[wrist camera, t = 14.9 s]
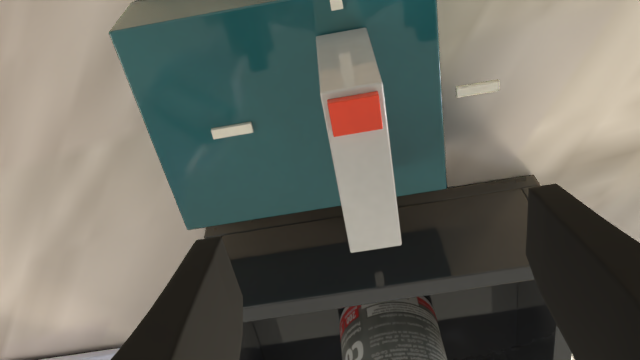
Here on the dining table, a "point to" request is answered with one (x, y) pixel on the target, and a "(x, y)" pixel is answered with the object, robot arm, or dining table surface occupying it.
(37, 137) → the dining table surface
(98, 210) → the dining table surface
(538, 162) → the dining table surface
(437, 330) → the pill bottle
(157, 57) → the teal flat box
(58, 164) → the dining table surface
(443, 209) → the dark open box
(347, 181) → the white rectangular block
